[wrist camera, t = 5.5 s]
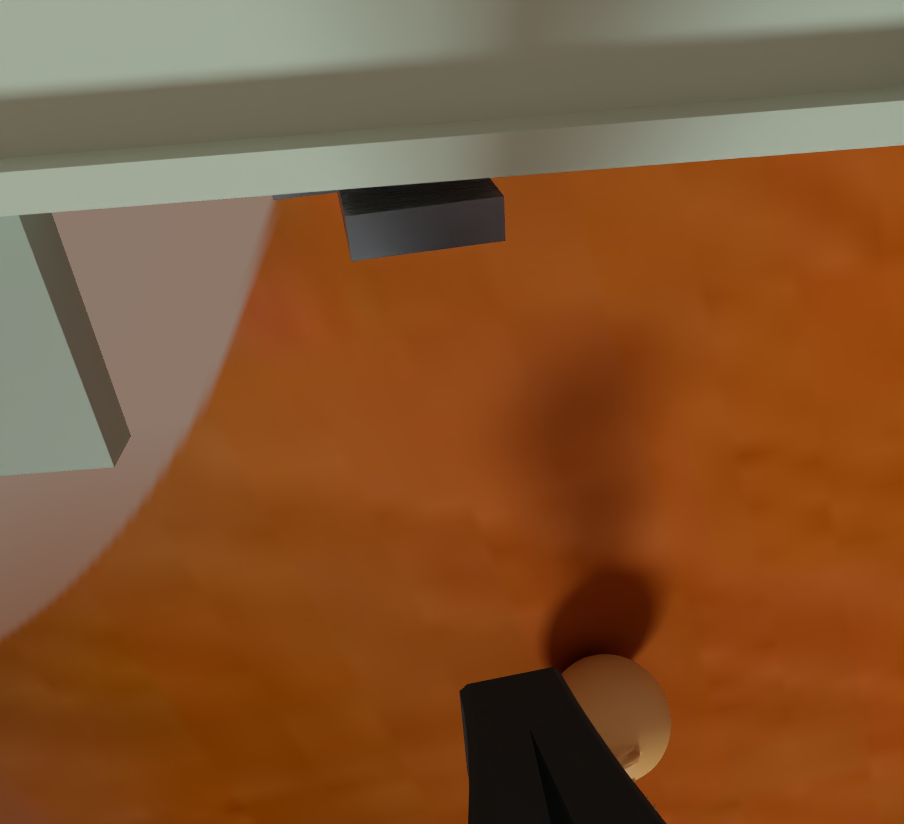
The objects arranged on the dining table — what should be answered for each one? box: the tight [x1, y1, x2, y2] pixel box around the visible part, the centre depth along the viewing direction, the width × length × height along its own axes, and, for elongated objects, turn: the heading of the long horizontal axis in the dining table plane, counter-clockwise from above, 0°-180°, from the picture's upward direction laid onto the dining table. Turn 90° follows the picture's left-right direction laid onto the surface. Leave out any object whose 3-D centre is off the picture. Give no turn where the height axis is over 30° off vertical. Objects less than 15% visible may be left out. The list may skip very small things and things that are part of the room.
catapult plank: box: [0, 0, 904, 476], centre depth 11 cm, size 18×10×2 cm, turn 94°
